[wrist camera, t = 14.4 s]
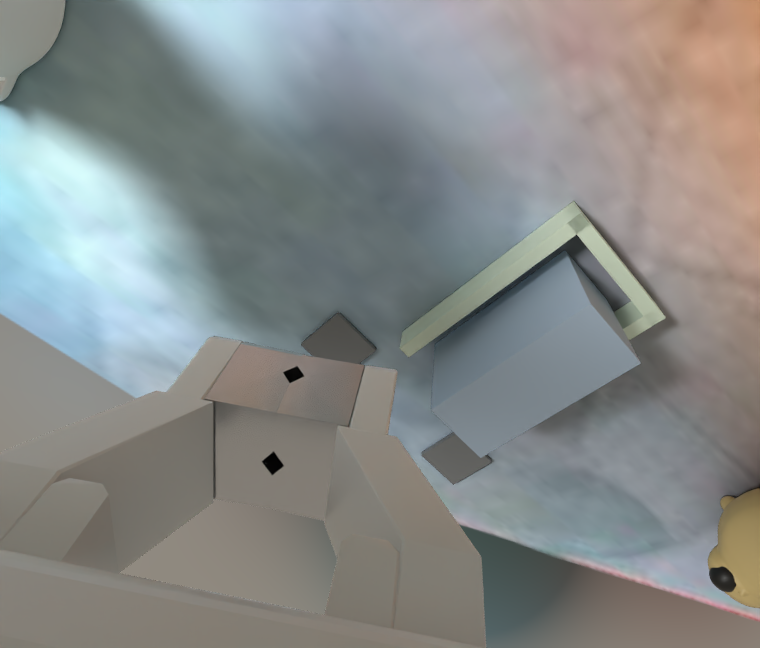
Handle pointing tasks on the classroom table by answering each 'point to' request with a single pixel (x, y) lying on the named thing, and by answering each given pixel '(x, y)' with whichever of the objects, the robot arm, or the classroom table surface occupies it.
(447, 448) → the tiles
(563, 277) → the slate block
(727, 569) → the toy pig
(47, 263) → the classroom table surface
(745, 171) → the classroom table surface
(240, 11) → the classroom table surface
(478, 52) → the classroom table surface
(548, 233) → the sage pocket
